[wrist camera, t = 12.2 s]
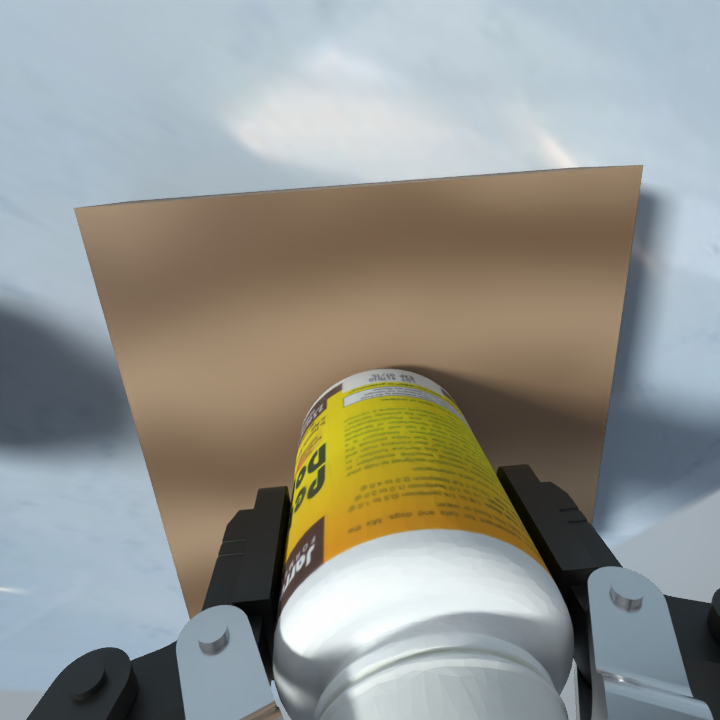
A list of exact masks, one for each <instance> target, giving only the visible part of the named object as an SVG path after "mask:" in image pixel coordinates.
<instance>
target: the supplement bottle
mask: <svg viewBox="0 0 720 720" xmlns="http://www.w3.org/2000/svg"><path fill="white" fill-rule="evenodd" d="M573 656H574V631H573V626H572V622H571V618H570V615H569V611H568V609H567V606H566V604H565V602H564V600H563V598H562V595H561V593H560V591H559V589H558V587H557V585H556V583H555V581H554V580H553V578H552V576H551V574H550V573H549V571H548V569H547V567H546V565H545V563H544V562H543V560H542V558H541V556H540V554H539V552H538V551H537V549H536V547H535V545H534V543H533V542H532V540H531V538H530V536H529V534H528V533H527V531H526V529H525V527H524V525H523V523H522V522H521V520H520V518H519V516H518V514H517V512H516V510H515V509H514V507H513V505H512V503H511V501H510V500H509V498H508V496H507V494H506V492H505V490H504V489H503V487H502V485H501V483H500V481H499V479H498V478H497V476H496V474H495V472H494V470H493V469H492V467H491V465H490V463H489V461H488V459H487V458H486V456H485V454H484V452H483V450H482V449H481V447H480V445H479V443H478V441H477V440H476V438H475V436H474V434H473V432H472V430H471V428H470V427H469V425H468V423H467V421H466V419H465V417H464V415H463V414H462V412H461V410H460V408H459V407H458V405H457V404H456V403H455V401H454V400H453V398H452V397H451V396H450V395H449V394H448V393H447V392H446V391H445V390H444V389H443V388H442V387H441V386H439V385H438V384H436V383H435V382H433V381H432V380H430V379H428V378H426V377H424V376H421V375H419V374H416V373H413V372H409V371H405V370H399V369H375V370H369V371H364V372H361V373H357V374H354V375H352V376H350V377H347V378H345V379H343V380H341V381H339V382H338V383H336V384H334V385H333V386H332V387H330V388H329V389H328V390H326V391H325V392H324V393H323V394H322V395H321V396H320V397H319V398H318V399H317V401H316V402H315V403H314V404H313V406H312V407H311V409H310V411H309V412H308V414H307V416H306V418H305V420H304V423H303V426H302V429H301V432H300V436H299V442H298V449H297V457H296V465H295V473H294V481H293V489H292V497H291V505H290V513H289V522H288V528H287V536H286V542H285V548H284V560H283V568H282V576H281V584H280V592H279V602H278V608H277V615H276V621H275V631H274V647H273V673H274V681H275V685H276V688H277V691H278V694H279V697H280V700H281V702H282V704H283V706H284V708H285V710H286V711H287V713H288V715H289V716H290V718H291V719H292V720H568V715H567V711H566V708H565V705H564V702H563V701H562V699H561V697H560V694H561V692H562V690H563V688H564V686H565V684H566V682H567V679H568V677H569V673H570V670H571V667H572V661H573Z"/></svg>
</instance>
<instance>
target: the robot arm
mask: <svg viewBox="0 0 720 720" xmlns="http://www.w3.org/2000/svg"><path fill="white" fill-rule="evenodd" d="M496 476H497V478H498V479H499V481H500V483H501V485H502V487H503V489H504V490H505V492H506V494H507V496H508V498H509V500H510V501H511V503H512V505H513V507H514V509H515V510H516V512H517V514H518V516H519V518H520V520H521V522H522V523H523V525H524V527H525V529H526V531H527V533H528V534H529V536H530V538H531V540H532V542H533V543H534V545H535V547H536V549H537V551H538V552H539V554H540V556H541V558H542V560H543V562H544V563H545V565H546V567H547V569H548V571H549V573H550V574H551V576H552V578H553V580H554V581H555V583H556V585H557V587H558V589H559V591H560V593H561V595H562V598H563V600H564V602H565V604H566V606H567V609H568V611H569V615H570V618H571V622H572V626H573V631H574V656H573V658H574V660H575V662H576V664H575V670H574V683H575V684H574V685H575V704H576V720H720V589H718V590H717V591H716V592H715V593H714V596H713V599H712V602H711V603H705V602H700V601H694V600H688V599H682V598H676V597H671V596H667V595H664V594H662V592H661V591H660V590H659V588H658V587H657V586H656V585H654V583H652V582H651V581H650V580H649V579H647V578H646V577H644V576H642V575H641V574H639V573H637V572H635V571H632V570H629V569H625V568H623V567H622V566H621V564H620V563H619V562H618V560H617V559H616V558H615V556H614V555H613V554H612V552H611V551H610V549H609V548H608V547H607V545H606V544H605V543H604V541H603V540H602V539H601V537H600V536H599V535H598V533H597V532H596V531H595V529H594V528H593V527H592V525H591V524H590V523H588V521H587V518H586V517H585V516H584V514H583V513H582V512H581V511H579V509H578V506H577V505H576V504H575V502H574V501H573V500H572V498H571V497H570V496H569V494H568V493H567V492H565V491H564V490H562V489H561V488H560V487H558V486H557V485H555V484H554V483H552V482H551V481H549V482H540V481H539V479H538V478H537V476H536V475H535V473H534V472H533V470H532V469H531V467H530V466H529V465H527V464H521V465H510V466H500V467H498V469H497V474H496ZM290 505H291V502H290V496H289V490H288V487H287V486H279V487H269V488H259V490H258V492H257V497H256V501H255V505H254V509H246V510H239V511H238V512H237V513H236V515H235V516H234V517H233V518H232V519H231V521H230V522H229V523H228V524H227V526H226V530H225V533H224V536H223V540H222V544H221V547H220V550H219V553H218V558H217V560H216V563H215V567H214V570H213V574H212V577H211V580H210V584H209V587H208V590H207V594H206V597H205V601H204V604H203V607H202V610H201V612H200V613H199V614H197V615H196V616H195V617H193V618H192V619H191V620H190V621H189V622H188V623H187V624H186V625H185V627H184V628H183V629H182V631H181V633H180V635H179V637H178V640H177V641H175V642H173V643H172V644H170V645H168V646H166V647H164V648H162V649H159V650H157V651H154V652H152V653H149V654H147V655H144V656H142V657H139V658H137V659H134V660H132V661H130V659H129V657H128V655H127V654H126V653H125V652H124V651H123V650H121V649H118V648H113V647H107V648H101V649H97V650H94V651H91V652H89V653H87V654H85V655H83V656H81V657H79V658H78V659H76V660H75V661H74V662H72V663H71V664H70V665H68V666H67V667H66V668H65V669H64V670H63V671H62V672H61V673H60V674H59V675H58V677H57V678H56V679H55V680H54V682H53V683H52V684H51V686H50V687H49V689H48V690H47V691H46V693H45V694H44V696H43V697H42V698H41V700H40V701H39V703H38V704H37V706H36V707H35V708H34V710H33V711H32V712H31V714H30V715H29V717H28V718H27V720H284V719H283V717H282V714H281V711H280V709H279V707H277V706H276V703H275V700H274V697H273V694H272V691H271V688H270V687H271V680H274V673H273V647H274V631H275V621H276V615H277V608H278V602H279V592H280V584H281V576H282V568H283V560H284V548H285V542H286V536H287V528H288V522H289V513H290Z"/></svg>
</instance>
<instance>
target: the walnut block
mask: <svg viewBox="0 0 720 720" xmlns="http://www.w3.org/2000/svg"><path fill="white" fill-rule="evenodd" d="M642 171H643V165H634V166H607V167H579V168H564V169H550V170H537V171H524V172H511V173H497V174H484V175H471V176H458V177H445V178H431V179H418V180H405V181H392V182H378V183H365V184H352V185H339V186H326V187H312V188H299V189H286V190H273V191H259V192H246V193H233V194H220V195H206V196H193V197H180V198H167V199H154V200H140V201H129V202H121V203H113V204H105V205H97V206H89V207H80V208H74V211H75V214H76V218H77V221H78V225H79V228H80V232H81V235H82V239H83V243H84V246H85V250H86V253H87V257H88V260H89V264H90V267H91V271H92V274H93V278H94V281H95V285H96V289H97V292H98V296H99V299H100V303H101V306H102V310H103V313H104V317H105V320H106V324H107V327H108V331H109V334H110V338H111V342H112V345H113V349H114V352H115V356H116V359H117V363H118V366H119V370H120V373H121V377H122V380H123V384H124V388H125V391H126V395H127V398H128V402H129V405H130V409H131V412H132V416H133V419H134V423H135V426H136V430H137V433H138V437H139V441H140V444H141V448H142V451H143V455H144V458H145V462H146V465H147V469H148V472H149V476H150V479H151V483H152V487H153V490H154V494H155V497H156V501H157V504H158V508H159V511H160V515H161V518H162V522H163V525H164V529H165V532H166V536H167V540H168V543H169V547H170V550H171V554H172V557H173V561H174V564H175V568H176V571H177V575H178V578H179V582H180V586H181V589H182V593H183V596H184V600H185V603H186V607H187V610H188V614H189V617H190V620H191V619H192V618H193V617H195V616H196V615H197V614H199V613H200V612H201V610H202V607H203V604H204V601H205V597H206V594H207V590H208V587H209V584H210V580H211V577H212V574H213V570H214V567H215V563H216V560H217V558H218V553H219V550H220V547H221V544H222V540H223V536H224V533H225V530H226V526H227V524H228V523H229V522H230V521H231V519H232V518H233V517H234V516H235V515H236V513H237V512H238V511H239V510H246V509H254V505H255V501H256V497H257V492H258V490H259V488H269V487H279V486H287V487H288V490H289V496H290V502H291V497H292V489H293V481H294V473H295V465H296V457H297V449H298V442H299V436H300V432H301V429H302V426H303V423H304V420H305V418H306V416H307V414H308V412H309V411H310V409H311V407H312V406H313V404H314V403H315V402H316V401H317V399H318V398H319V397H320V396H321V395H322V394H323V393H324V392H325V391H326V390H328V389H329V388H330V387H332V386H333V385H334V384H336V383H338V382H339V381H341V380H343V379H345V378H347V377H350V376H352V375H354V374H357V373H361V372H364V371H369V370H375V369H399V370H405V371H409V372H413V373H416V374H419V375H421V376H424V377H426V378H428V379H430V380H432V381H433V382H435V383H436V384H438V385H439V386H441V387H442V388H443V389H444V390H445V391H446V392H447V393H448V394H449V395H450V396H451V397H452V398H453V400H454V401H455V403H456V404H457V405H458V407H459V408H460V410H461V412H462V414H463V415H464V417H465V419H466V421H467V423H468V425H469V427H470V428H471V430H472V432H473V434H474V436H475V438H476V440H477V441H478V443H479V445H480V447H481V449H482V450H483V452H484V454H485V456H486V458H487V459H488V461H489V463H490V465H491V467H492V469H493V470H494V472H495V474H497V469H498V467H500V466H510V465H521V464H527V465H529V466H530V467H531V469H532V470H533V472H534V473H535V475H536V476H537V478H538V479H539V481H540V482H549V481H551V482H552V483H554V484H555V485H557V486H558V487H560V488H561V489H562V490H564V491H565V492H567V493H568V494H569V496H570V497H571V498H572V500H573V501H574V502H575V504H576V505H577V506H578V509H579V511H581V512H582V513H583V514H584V516H585V517H586V518H587V521H588V523H590V524H591V525H592V520H593V513H594V506H595V499H596V492H597V485H598V478H599V471H600V464H601V457H602V450H603V443H604V436H605V429H606V422H607V415H608V408H609V401H610V394H611V387H612V380H613V373H614V366H615V359H616V352H617V345H618V338H619V331H620V324H621V317H622V310H623V303H624V297H625V290H626V283H627V276H628V269H629V262H630V255H631V248H632V241H633V234H634V227H635V220H636V213H637V206H638V199H639V192H640V185H641V178H642Z"/></svg>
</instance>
